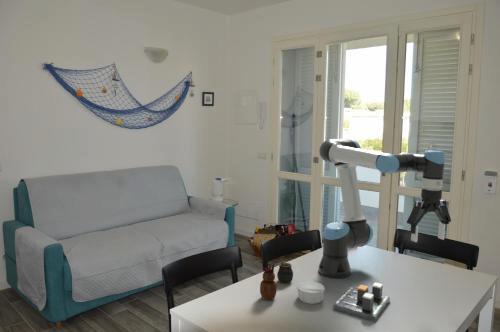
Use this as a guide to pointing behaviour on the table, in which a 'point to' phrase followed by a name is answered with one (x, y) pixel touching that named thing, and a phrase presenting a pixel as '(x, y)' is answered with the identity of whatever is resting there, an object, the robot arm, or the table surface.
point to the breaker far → (377, 290)
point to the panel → (360, 305)
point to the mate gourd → (285, 272)
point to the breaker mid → (361, 292)
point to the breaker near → (367, 301)
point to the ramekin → (310, 292)
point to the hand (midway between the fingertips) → (427, 240)
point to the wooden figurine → (268, 284)
